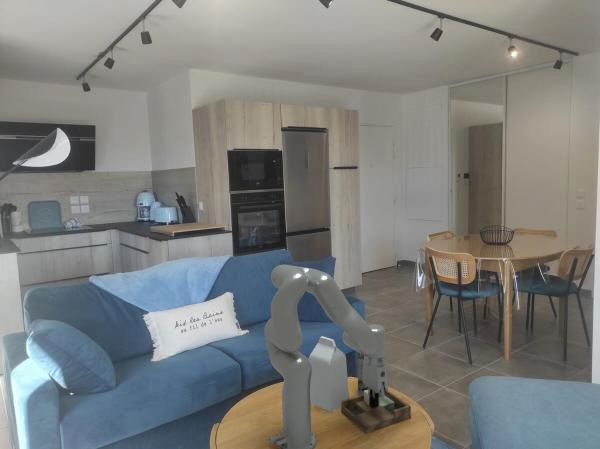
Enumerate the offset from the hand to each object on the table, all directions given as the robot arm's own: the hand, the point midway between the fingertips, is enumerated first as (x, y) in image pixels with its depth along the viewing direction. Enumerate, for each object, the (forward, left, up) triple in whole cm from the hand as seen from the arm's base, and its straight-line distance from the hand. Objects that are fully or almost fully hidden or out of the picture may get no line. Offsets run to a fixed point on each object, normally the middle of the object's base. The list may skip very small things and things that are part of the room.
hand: (374, 406), depth 165 cm
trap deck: (+1, 0, -4) cm, 4 cm away
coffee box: (+8, +16, -4) cm, 18 cm away
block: (+3, +5, -1) cm, 6 cm away
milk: (-9, +18, -4) cm, 20 cm away
